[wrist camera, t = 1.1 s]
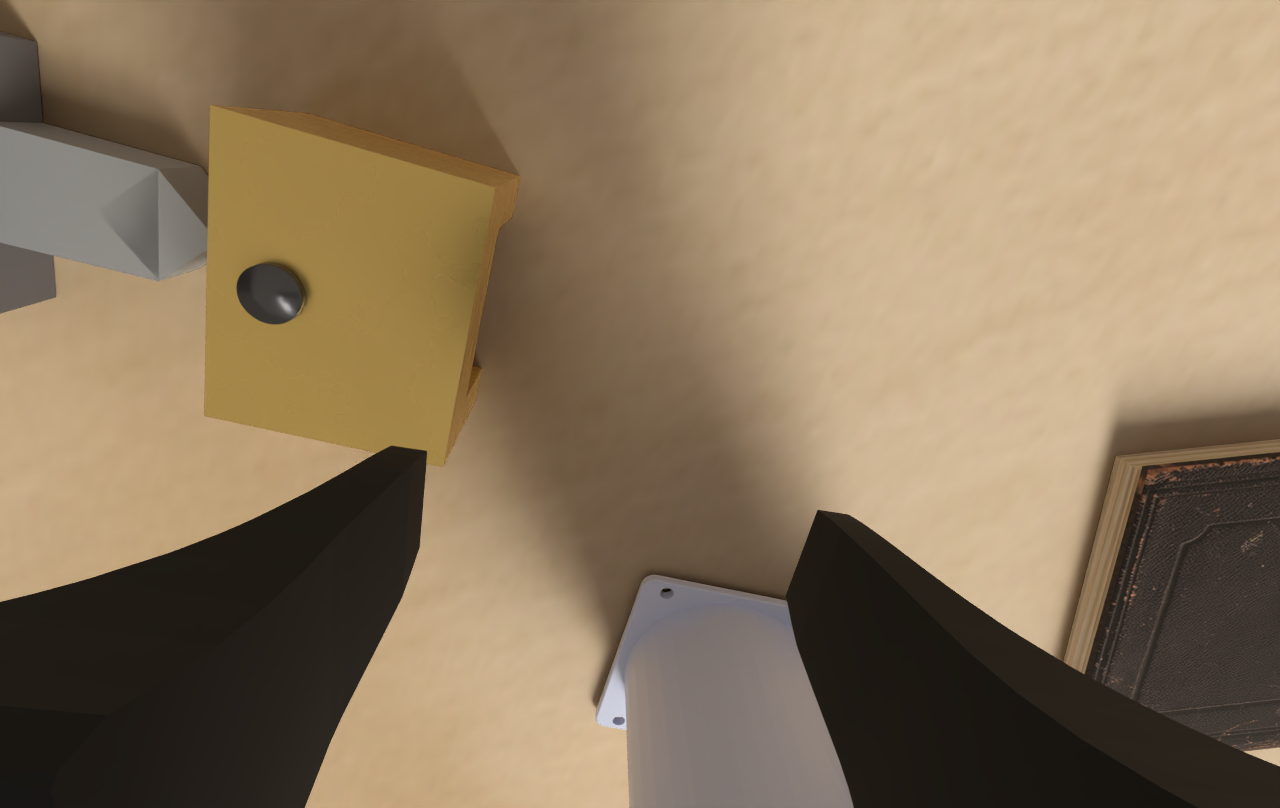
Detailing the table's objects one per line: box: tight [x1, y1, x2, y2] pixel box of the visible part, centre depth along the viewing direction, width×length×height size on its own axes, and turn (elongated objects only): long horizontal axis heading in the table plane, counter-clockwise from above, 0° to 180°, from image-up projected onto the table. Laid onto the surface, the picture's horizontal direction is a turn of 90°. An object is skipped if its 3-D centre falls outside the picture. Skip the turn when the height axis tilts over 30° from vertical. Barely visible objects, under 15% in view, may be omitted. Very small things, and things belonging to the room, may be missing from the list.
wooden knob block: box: [204, 105, 520, 467], centre depth 17 cm, size 6×7×5 cm
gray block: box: [0, 31, 209, 313], centre depth 15 cm, size 8×7×7 cm
